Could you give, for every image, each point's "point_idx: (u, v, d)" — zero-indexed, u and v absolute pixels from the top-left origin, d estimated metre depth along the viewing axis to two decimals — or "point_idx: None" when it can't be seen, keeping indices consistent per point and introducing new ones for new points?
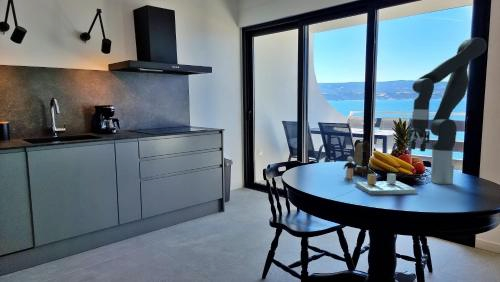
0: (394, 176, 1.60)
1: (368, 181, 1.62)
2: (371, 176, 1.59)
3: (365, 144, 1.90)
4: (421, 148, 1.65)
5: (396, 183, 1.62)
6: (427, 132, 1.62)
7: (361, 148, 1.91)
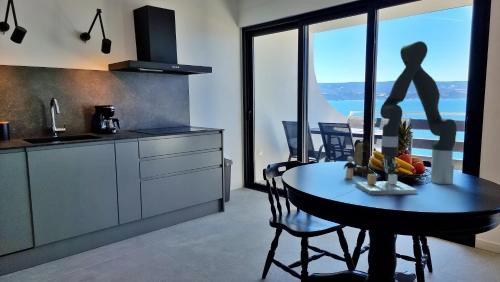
0: (395, 176, 1.59)
1: (368, 181, 1.62)
2: (371, 176, 1.59)
3: (365, 144, 1.90)
4: (387, 177, 1.64)
5: None
6: (395, 165, 1.58)
7: (361, 148, 1.91)
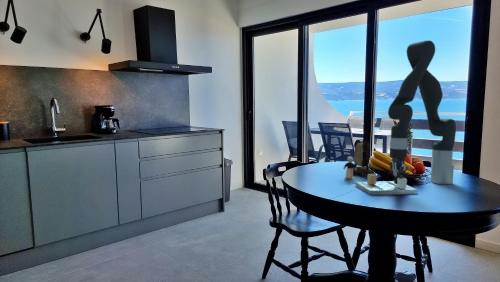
0: (405, 180, 1.51)
1: (368, 181, 1.62)
2: (371, 176, 1.59)
3: (365, 144, 1.90)
4: (396, 181, 1.56)
5: None
6: (404, 168, 1.50)
7: (361, 148, 1.91)
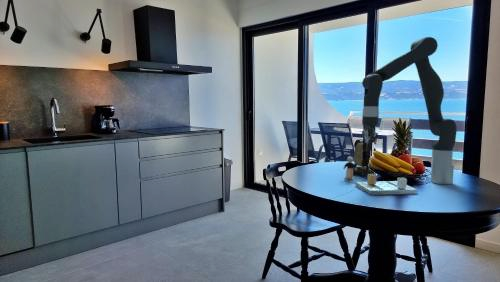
0: (405, 180, 1.51)
1: (368, 181, 1.62)
2: (371, 176, 1.59)
3: (365, 144, 1.90)
4: (367, 147, 1.64)
5: (396, 183, 1.62)
6: (375, 135, 1.58)
7: (361, 148, 1.91)
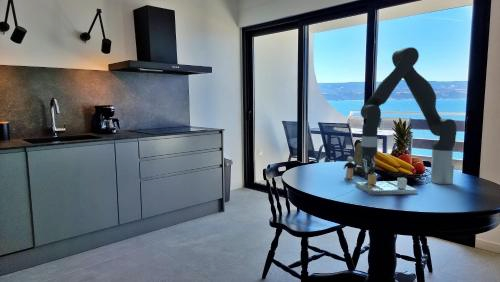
0: (405, 180, 1.51)
1: (368, 181, 1.61)
2: (371, 176, 1.59)
3: None
4: (367, 177, 1.64)
5: (396, 183, 1.62)
6: (374, 165, 1.58)
7: None
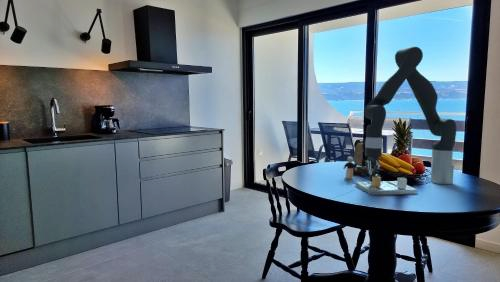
0: (405, 180, 1.51)
1: (373, 183, 1.57)
2: (376, 178, 1.55)
3: None
4: (371, 179, 1.59)
5: (396, 183, 1.62)
6: (378, 167, 1.54)
7: (361, 148, 1.91)
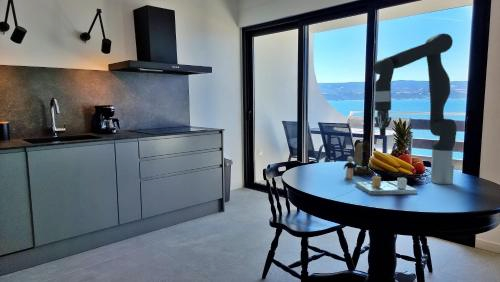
0: (405, 180, 1.51)
1: (373, 183, 1.57)
2: (376, 178, 1.54)
3: (365, 144, 1.90)
4: (381, 133, 1.64)
5: (396, 183, 1.62)
6: (388, 119, 1.58)
7: (361, 148, 1.91)
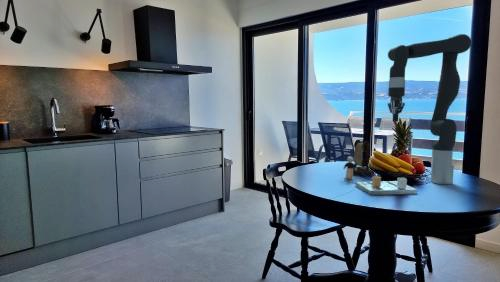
0: (405, 180, 1.51)
1: (373, 183, 1.57)
2: (376, 178, 1.54)
3: (365, 144, 1.90)
4: (394, 118, 1.66)
5: (396, 183, 1.62)
6: (402, 105, 1.61)
7: (361, 148, 1.91)
